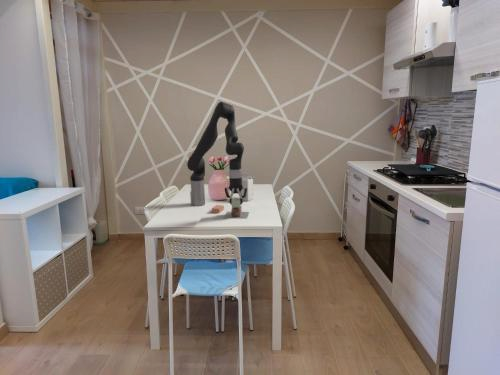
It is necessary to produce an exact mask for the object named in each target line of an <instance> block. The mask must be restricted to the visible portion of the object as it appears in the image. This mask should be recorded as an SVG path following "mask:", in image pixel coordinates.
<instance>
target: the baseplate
mask: <svg viewBox="0 0 500 375" xmlns="http://www.w3.org/2000/svg"><path fill="white" fill-rule="evenodd" d="M249 214H250V211H242V213H241V216H240V217H232V214H231V211H226V213H225V214H224V216H223V219H238V220H239V219H240V220H241V219H248V217H249Z"/></svg>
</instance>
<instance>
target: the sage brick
mask: <svg viewBox="0 0 500 375" xmlns="http://www.w3.org/2000/svg"><path fill="white" fill-rule="evenodd" d="M231 201H232V205H231V208H233V207H240V206H241V207H242V204H241V205H240V196H232V200H231Z"/></svg>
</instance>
